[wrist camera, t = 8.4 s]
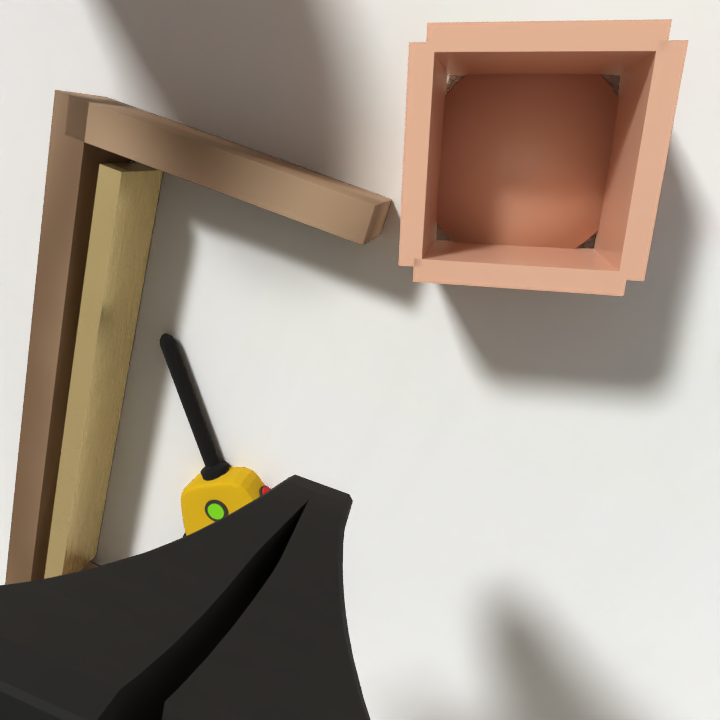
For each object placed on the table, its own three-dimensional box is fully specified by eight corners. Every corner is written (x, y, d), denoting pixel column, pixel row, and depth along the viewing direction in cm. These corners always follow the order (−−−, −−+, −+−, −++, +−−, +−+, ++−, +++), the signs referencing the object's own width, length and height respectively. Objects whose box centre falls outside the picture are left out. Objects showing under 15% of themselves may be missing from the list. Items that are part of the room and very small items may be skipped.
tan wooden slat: (163, 170, 21) (121, 172, 19) (95, 555, 28) (59, 590, 26) (143, 162, 21) (99, 163, 19) (80, 548, 28) (43, 582, 26)
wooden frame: (391, 199, 19) (375, 205, 17) (243, 653, 27) (218, 699, 25) (106, 97, 21) (55, 89, 18) (44, 561, 29) (4, 596, 26)
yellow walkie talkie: (224, 674, 26) (93, 355, 22) (242, 641, 28) (124, 340, 24) (325, 671, 25) (204, 329, 21) (338, 637, 26) (228, 315, 23)
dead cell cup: (644, 53, 17) (692, 19, 13) (609, 267, 19) (641, 297, 15) (429, 54, 18) (409, 23, 14) (417, 256, 20) (397, 280, 16)
